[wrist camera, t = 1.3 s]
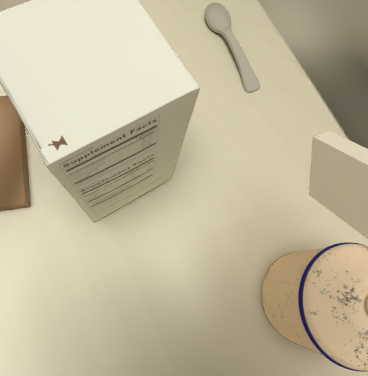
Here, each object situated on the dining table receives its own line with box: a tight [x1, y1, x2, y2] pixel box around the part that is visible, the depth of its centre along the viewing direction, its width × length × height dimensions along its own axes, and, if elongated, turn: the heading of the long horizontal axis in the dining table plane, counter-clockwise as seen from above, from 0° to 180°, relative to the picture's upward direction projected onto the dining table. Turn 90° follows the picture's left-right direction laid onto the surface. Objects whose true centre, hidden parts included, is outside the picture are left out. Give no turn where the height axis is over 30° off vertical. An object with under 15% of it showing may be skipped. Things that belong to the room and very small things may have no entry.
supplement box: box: [0, 0, 200, 222], centre depth 25 cm, size 10×9×17 cm
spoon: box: [205, 3, 260, 93], centre depth 38 cm, size 3×12×2 cm, turn 25°
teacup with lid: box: [262, 243, 368, 371], centre depth 27 cm, size 12×9×12 cm
